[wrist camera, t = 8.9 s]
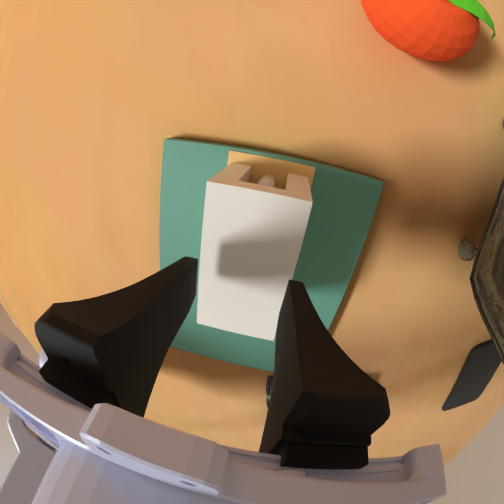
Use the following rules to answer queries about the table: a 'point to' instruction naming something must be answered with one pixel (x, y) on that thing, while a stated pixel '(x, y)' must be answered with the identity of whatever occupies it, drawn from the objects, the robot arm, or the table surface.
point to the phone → (474, 375)
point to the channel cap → (249, 250)
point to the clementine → (428, 25)
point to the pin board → (313, 246)
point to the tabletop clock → (489, 272)
